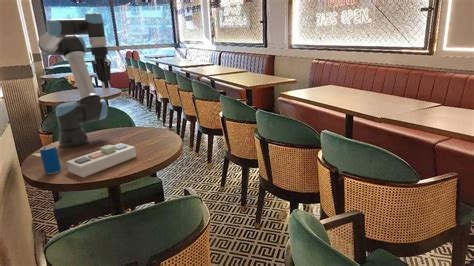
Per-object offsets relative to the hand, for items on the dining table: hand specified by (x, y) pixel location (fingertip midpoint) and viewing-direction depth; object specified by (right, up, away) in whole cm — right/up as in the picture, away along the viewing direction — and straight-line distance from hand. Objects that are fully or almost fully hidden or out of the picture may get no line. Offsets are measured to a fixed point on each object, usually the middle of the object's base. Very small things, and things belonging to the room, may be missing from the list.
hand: (106, 94), depth 168 cm
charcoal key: (-3, -34, -19) cm, 40 cm away
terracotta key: (+1, -33, -15) cm, 36 cm away
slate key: (+9, -29, -5) cm, 31 cm away
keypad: (+3, -34, -11) cm, 36 cm away
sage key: (+5, -29, -10) cm, 31 cm away
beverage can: (-17, -38, -18) cm, 45 cm away
